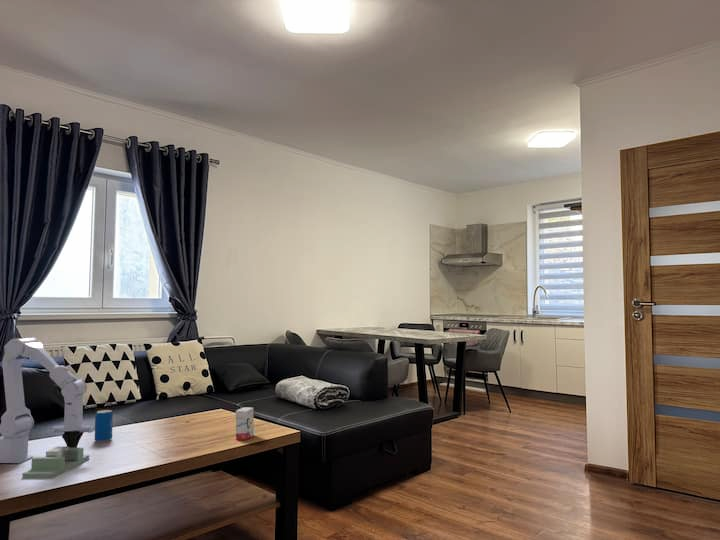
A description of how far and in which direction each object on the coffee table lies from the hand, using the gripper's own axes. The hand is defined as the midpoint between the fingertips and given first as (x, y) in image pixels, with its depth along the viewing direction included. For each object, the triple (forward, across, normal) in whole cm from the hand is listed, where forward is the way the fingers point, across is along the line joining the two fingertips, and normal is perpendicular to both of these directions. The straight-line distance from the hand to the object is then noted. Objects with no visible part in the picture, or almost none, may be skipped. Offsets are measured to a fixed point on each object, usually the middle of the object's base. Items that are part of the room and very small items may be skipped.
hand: (72, 452), depth 176 cm
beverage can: (+3, -4, +27) cm, 28 cm away
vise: (+3, 0, -8) cm, 8 cm away
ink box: (+3, +54, +32) cm, 63 cm away
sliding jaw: (+1, 0, -3) cm, 4 cm away
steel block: (+1, 0, -8) cm, 8 cm away
